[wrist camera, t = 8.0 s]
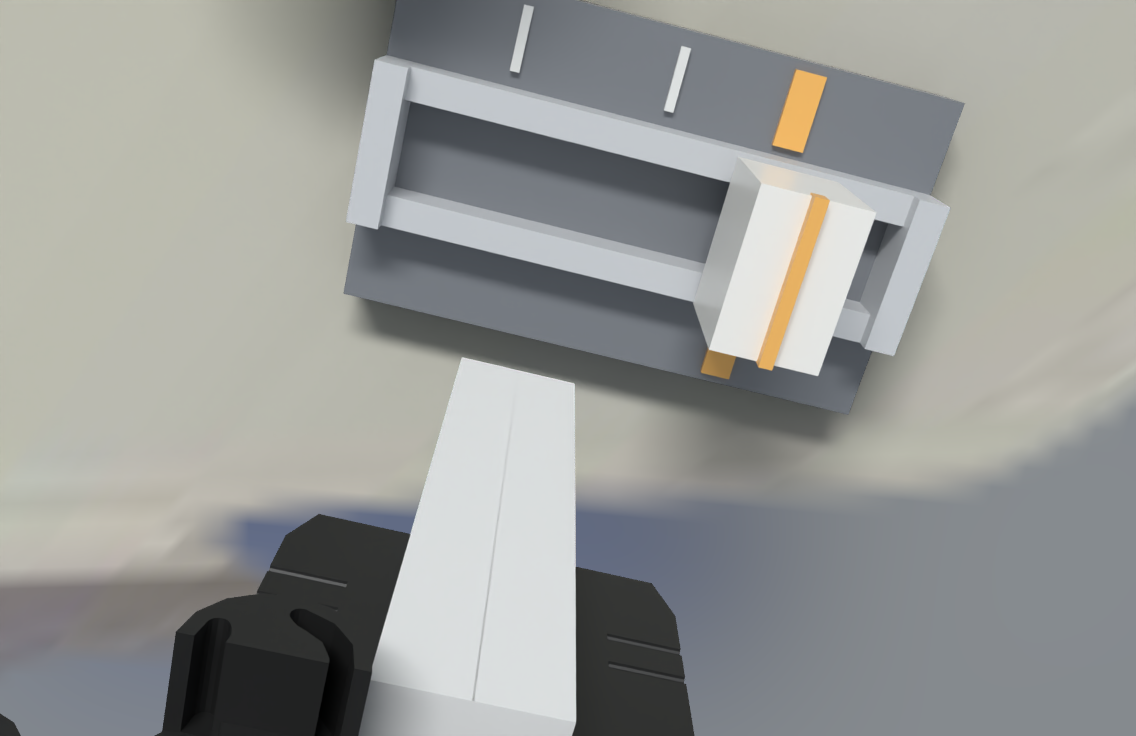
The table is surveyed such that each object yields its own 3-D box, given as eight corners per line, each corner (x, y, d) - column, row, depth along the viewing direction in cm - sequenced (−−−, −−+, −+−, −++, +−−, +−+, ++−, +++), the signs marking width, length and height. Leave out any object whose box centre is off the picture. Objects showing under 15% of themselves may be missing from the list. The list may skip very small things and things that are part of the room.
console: (355, 277, 37) (330, 310, 33) (414, -44, 33) (393, -47, 30) (835, 393, 39) (862, 437, 35) (944, 96, 35) (987, 110, 31)
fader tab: (688, 291, 35) (709, 355, 29) (731, 147, 33) (764, 183, 27) (779, 313, 35) (820, 382, 29) (827, 171, 33) (880, 213, 27)
